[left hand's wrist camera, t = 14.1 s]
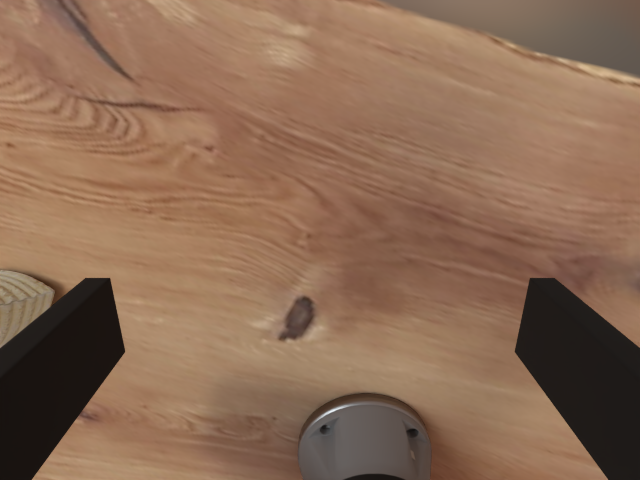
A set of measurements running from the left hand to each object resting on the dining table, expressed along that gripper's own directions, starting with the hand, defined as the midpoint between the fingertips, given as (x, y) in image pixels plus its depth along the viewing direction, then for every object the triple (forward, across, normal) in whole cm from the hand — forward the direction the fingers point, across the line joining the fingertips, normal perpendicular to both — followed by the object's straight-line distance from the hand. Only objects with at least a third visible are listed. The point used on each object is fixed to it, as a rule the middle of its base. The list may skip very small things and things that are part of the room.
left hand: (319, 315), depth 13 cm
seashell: (+25, +31, +14) cm, 42 cm away
